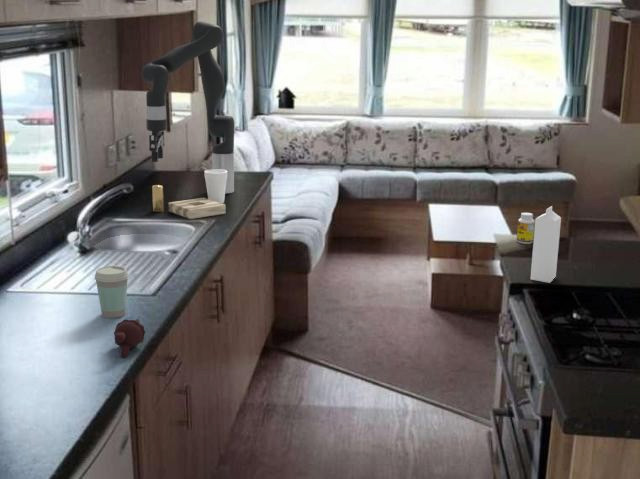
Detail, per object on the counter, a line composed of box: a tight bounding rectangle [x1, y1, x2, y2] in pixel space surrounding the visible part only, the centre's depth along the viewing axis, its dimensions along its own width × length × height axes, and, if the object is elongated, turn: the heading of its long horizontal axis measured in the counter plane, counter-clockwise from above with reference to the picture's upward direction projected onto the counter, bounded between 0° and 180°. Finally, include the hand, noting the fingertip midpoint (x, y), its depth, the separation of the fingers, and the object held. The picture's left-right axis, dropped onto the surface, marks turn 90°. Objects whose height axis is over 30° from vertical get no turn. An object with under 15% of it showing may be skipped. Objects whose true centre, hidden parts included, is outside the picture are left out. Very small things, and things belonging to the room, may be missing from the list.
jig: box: [168, 197, 227, 220], centre depth 329 cm, size 16×16×4 cm
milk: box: [529, 205, 562, 284], centre depth 250 cm, size 6×6×22 cm
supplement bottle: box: [516, 212, 535, 245], centre depth 293 cm, size 6×6×10 cm
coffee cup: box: [94, 265, 130, 319], centre depth 216 cm, size 8×8×12 cm
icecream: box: [113, 318, 146, 358], centre depth 196 cm, size 7×7×15 cm
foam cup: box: [204, 168, 227, 204], centre depth 346 cm, size 10×9×13 cm
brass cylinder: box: [151, 184, 165, 213], centre depth 330 cm, size 4×4×10 cm
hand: (157, 160), depth 325 cm, fingers open, 8 cm apart
